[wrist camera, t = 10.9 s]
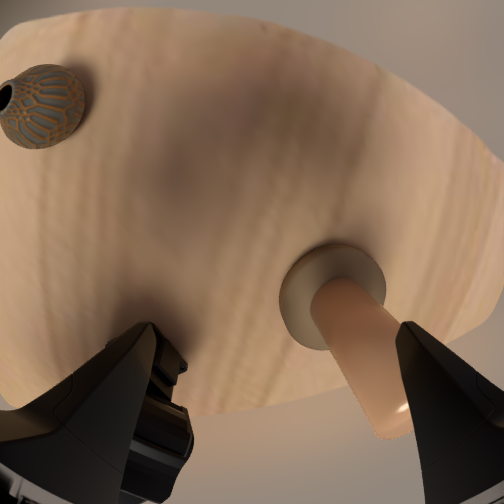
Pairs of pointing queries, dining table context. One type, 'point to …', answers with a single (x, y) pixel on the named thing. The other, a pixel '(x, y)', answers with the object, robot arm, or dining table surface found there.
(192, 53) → the dining table surface
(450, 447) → the robot arm
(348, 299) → the tan tapered cylinder
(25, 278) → the dining table surface
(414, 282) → the dining table surface
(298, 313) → the stand
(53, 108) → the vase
